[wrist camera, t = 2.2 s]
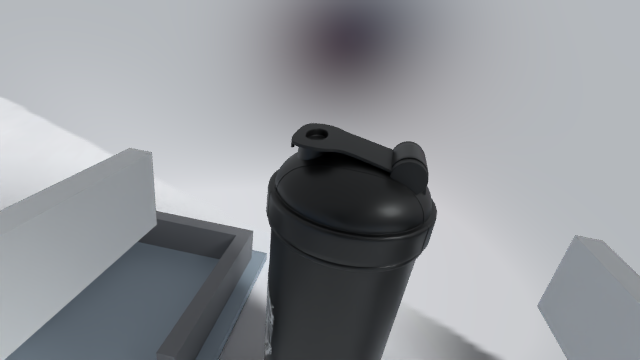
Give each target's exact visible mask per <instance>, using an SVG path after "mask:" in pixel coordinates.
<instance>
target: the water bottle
mask: <svg viewBox="0 0 640 360" xmlns="http://www.w3.org/2000/svg"><path fill="white" fill-rule="evenodd" d="M294 145H296V146H298V147H299V149H298V152H297V153H295V154H294V155H292V156H291V157H290V158H288V159H287V160H286V161H285V163H284V164H283V165H282V166H281V167H280V169H279V170H277V171H276V172H275V173H274V174H273V175H272V177H271V179H270V181H269V185H268V195H267V207H266V209H267V210H266V212H267V216H268V220H269V224H270V227H271V244H270V263H269V272H268V277H269V279H268V287H267V307H266V328H265V347H264V349H265V360H381V357H382V354H383V351H384V348H385V346H386V343H387V340H388V337H389V334H390V331H391V328H392V326H393V323H394V320H395V317H396V314H397V311H398V308H399V306H400V303H401V300H402V297H403V294H404V291H405V288H406V286H407V283H408V280H409V277H410V274H411V271H412V268H413V266H414V263H415V260H416V258H417V257H418V256H419V255H420V254H421V253H422V251H423V250H424V249H425V248H426V246H427V245H428V242H429V239H430V236H431V233H432V230H433V227H434V224H435V221H436V214H437V210H436V206H435V203H434V202H433V200H432V199H431V195H430V192H429V189H428V187H427V184H428V168H427V163H426V158H425V154H424V151H423V150H422V148H421V147H420V146H419V145H418V144H416V143H414V142H402V143H400V144H398V145H397V146H396V147H395V148H394V149H393V150H392V149H390V148H387V147H384V146H382V145H379V144H377V143H374V142H371V141H369V140H366V139H364V138H361V137H359V136H356V135H353V134H350V133H348V132H346V131H344V130H341V129H340V128H337V127H334V126H330V125H325V124H317V123H315V124H314V123H312V124H307V125H305V126H302V127H301V128H300V129H299V130H298V131H297V132H296V133H295V134H294V135H293V137H292V143H291V147H294Z"/></svg>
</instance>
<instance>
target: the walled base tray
mask: <svg viewBox="0 0 640 360" xmlns="http://www.w3.org/2000/svg"><path fill="white" fill-rule="evenodd" d="M156 219H157V225H156V226H155V227H153V228H152V229H151V230H150V231H149V232H148V233H147V234H146V235H144V236H143V237H142V238H141V239H140V240H139V241H138V242H137V243H135V244H134V245H133V246H132V247H131V248H130V249H129V250H128V251H126V252H125V253H124V254H123V255H122V256H121V257H120V258H119V259H117V260H116V261H115V262H114V263H113V264H112V265H111V266H110V267H108V268H107V269H106V270H105V271H104V272H103V273H102V274H100V275H99V276H98V277H97V278H96V279H95V280H94V281H93V282H91V283H90V284H89V285H88V286H87V287H86V288H85V289H84V290H82V291H81V292H80V293H79V294H78V295H77V296H76V297H75V298H73V299H72V300H71V301H70V302H69V303H68V304H67V305H66V306H64V307H63V308H62V309H61V310H60V311H59V312H58V313H57V314H55V315H54V316H53V317H52V318H51V319H50V320H49V321H47V322H46V323H45V324H44V325H43V326H42V327H41V328H40V329H38V330H37V331H36V332H35V333H34V334H33V335H32V336H31V337H29V338H28V339H27V340H26V341H25V342H24V343H23V344H22V345H20V346H19V347H18V348H17V349H16V350H15V351H14V352H13V353H11V354H10V355H9V356H8V357H7V358H6V359H5V360H218V358H219V356H220V354H221V351H222V349H223V347H224V345H225V343H226V341H227V339H228V337H229V335H230V333H231V331H232V329H233V327H234V325H235V323H236V321H237V318H238V316H239V314H240V312H241V310H242V308H243V306H244V304H245V302H246V300H247V298H248V296H249V294H250V292H251V290H252V288H253V286H254V283H255V281H256V279H257V277H258V275H259V273H260V271H261V269H262V267H263V265H264V263H265V261H266V256H267V253H264V252H259V251H254V250H252V241H253V231H251V230H246V229H241V228H236V227H231V226H227V225H222V224H217V223H212V222H207V221H202V220H197V219H192V218H188V217H183V216H178V215H173V214H168V213H163V212H158V211H156Z"/></svg>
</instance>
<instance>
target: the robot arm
mask: <svg viewBox="0 0 640 360" xmlns="http://www.w3.org/2000/svg"><path fill="white" fill-rule="evenodd" d="M156 225H157V219H156V204H155V190H154V175H153V162H152V152H148V151H142V150H138V149H132V148H129V149H127V150H125V151H123V152H120V153H119V154H116V155H114V156H112V157H110V158H108V159H106V160H104V161H102V162H100V163H98V164H96V165H94V166H92V167H90V168H87V169H85V170H83V171H81V172H79V173H77V174H75V175H73V176H71V177H69V178H67V179H65V180H63V181H61V182H59V183H57V184H54V185H52V186H50V187H48V188H46V189H44V190H42V191H40V192H38V193H36V194H34V195H32V196H30V197H28V198H26V199H23V200H21V201H19V202H17V203H15V204H13V205H11V206H9V207H7V208H5V209H3V210H1V211H0V360H5V359H6V358H7V357H8V356H9V355H10V354H11V353H13V352H14V351H15V350H16V349H17V348H18V347H19V346H20V345H22V344H23V343H24V342H25V341H26V340H27V339H28V338H29V337H31V336H32V335H33V334H34V333H35V332H36V331H37V330H38V329H40V328H41V327H42V326H43V325H44V324H45V323H46V322H47V321H49V320H50V319H51V318H52V317H53V316H54V315H55V314H57V313H58V312H59V311H60V310H61V309H62V308H63V307H64V306H66V305H67V304H68V303H69V302H70V301H71V300H72V299H73V298H75V297H76V296H77V295H78V294H79V293H80V292H81V291H82V290H84V289H85V288H86V287H87V286H88V285H89V284H90V283H91V282H93V281H94V280H95V279H96V278H97V277H98V276H99V275H100V274H102V273H103V272H104V271H105V270H106V269H107V268H108V267H110V266H111V265H112V264H113V263H114V262H115V261H116V260H117V259H119V258H120V257H121V256H122V255H123V254H124V253H125V252H126V251H128V250H129V249H130V248H131V247H132V246H133V245H134V244H135V243H137V242H138V241H139V240H140V239H141V238H142V237H143V236H144V235H146V234H147V233H148V232H149V231H150V230H151V229H152V228H153V227H155V226H156ZM538 308H539V310H540V312H541V314H542V315H543V317H544V319H545V321H546V322H547V324H548V326H549V328H550V329H551V331H552V333H553V335H554V337H555V338H556V340H557V342H558V344H559V345H560V347H561V349H562V351H563V352H564V354H565V356H566V358H567V360H640V276H639V275H638V274H637V273H636V272H635V271H634V270H633V269H632V268H631V267H630V266H629V265H627V263H625V262H624V261H623V260H622V259H621V258H620V257H619V256H618V255H617V254H616V253H615V252H614V251H613V250H612V249H611V248H610V247H609V246H608V245H607V244H606V243H605V242H603V241H602V240H597V239H592V238H586V237H582V236H576V235H575V236H574V238H573V240H572V242H571V244H570V246H569V248H568V249H567V251H566V253H565V255H564V257H563V259H562V261H561V263H560V264H559V266H558V268H557V270H556V272H555V274H554V276H553V277H552V279H551V281H550V283H549V285H548V287H547V289H546V291H545V293H544V294H543V296H542V298H541V300H540V302H539V303H538Z"/></svg>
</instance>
